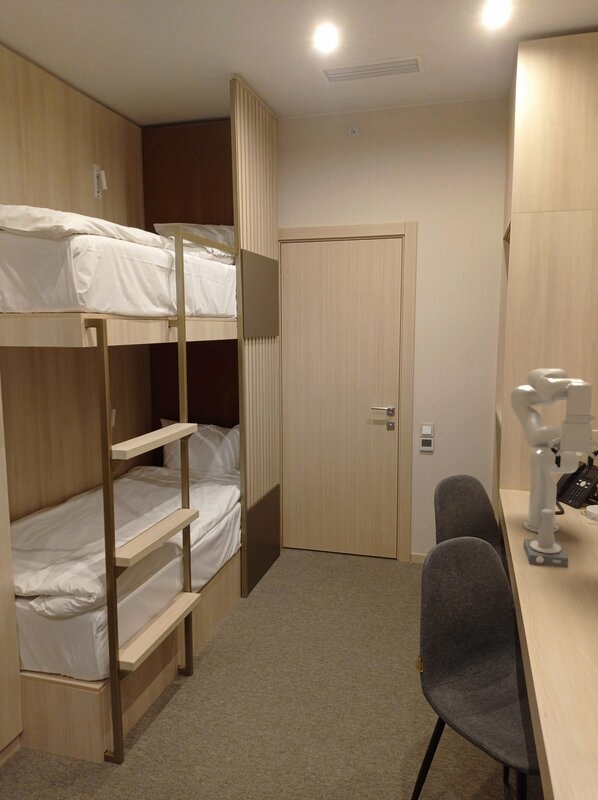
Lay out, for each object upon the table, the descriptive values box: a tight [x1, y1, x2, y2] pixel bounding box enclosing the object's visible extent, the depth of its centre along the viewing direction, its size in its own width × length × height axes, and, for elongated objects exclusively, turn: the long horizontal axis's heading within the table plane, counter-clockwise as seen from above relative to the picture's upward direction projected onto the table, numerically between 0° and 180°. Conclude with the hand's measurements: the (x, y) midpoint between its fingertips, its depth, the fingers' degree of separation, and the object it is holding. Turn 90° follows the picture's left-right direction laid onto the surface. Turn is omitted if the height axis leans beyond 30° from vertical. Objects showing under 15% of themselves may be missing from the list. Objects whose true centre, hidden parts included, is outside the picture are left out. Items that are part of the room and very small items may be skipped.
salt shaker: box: [536, 509, 556, 548], centre depth 200 cm, size 6×6×13 cm
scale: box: [523, 538, 569, 568], centre depth 201 cm, size 14×12×4 cm
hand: (573, 467), depth 199 cm, fingers open, 9 cm apart
